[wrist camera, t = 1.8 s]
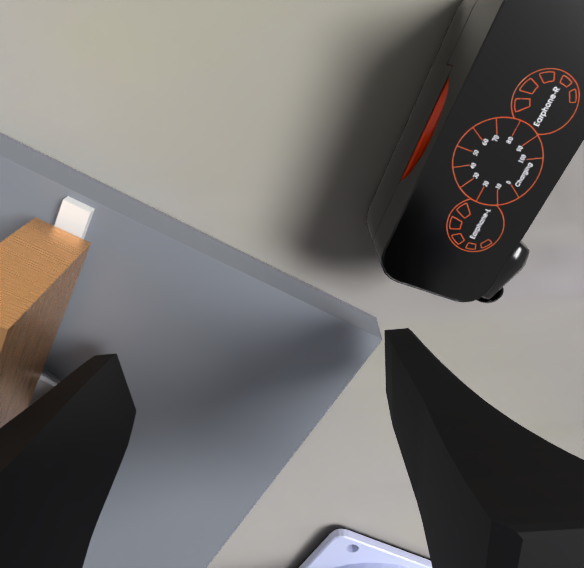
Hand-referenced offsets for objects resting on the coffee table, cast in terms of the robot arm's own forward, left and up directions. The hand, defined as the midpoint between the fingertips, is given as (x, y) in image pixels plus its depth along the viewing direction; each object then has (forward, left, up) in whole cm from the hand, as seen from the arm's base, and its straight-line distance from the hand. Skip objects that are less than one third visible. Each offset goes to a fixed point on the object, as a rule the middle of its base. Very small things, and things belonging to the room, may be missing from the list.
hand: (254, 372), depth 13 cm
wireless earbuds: (-3, -7, -3) cm, 8 cm away
